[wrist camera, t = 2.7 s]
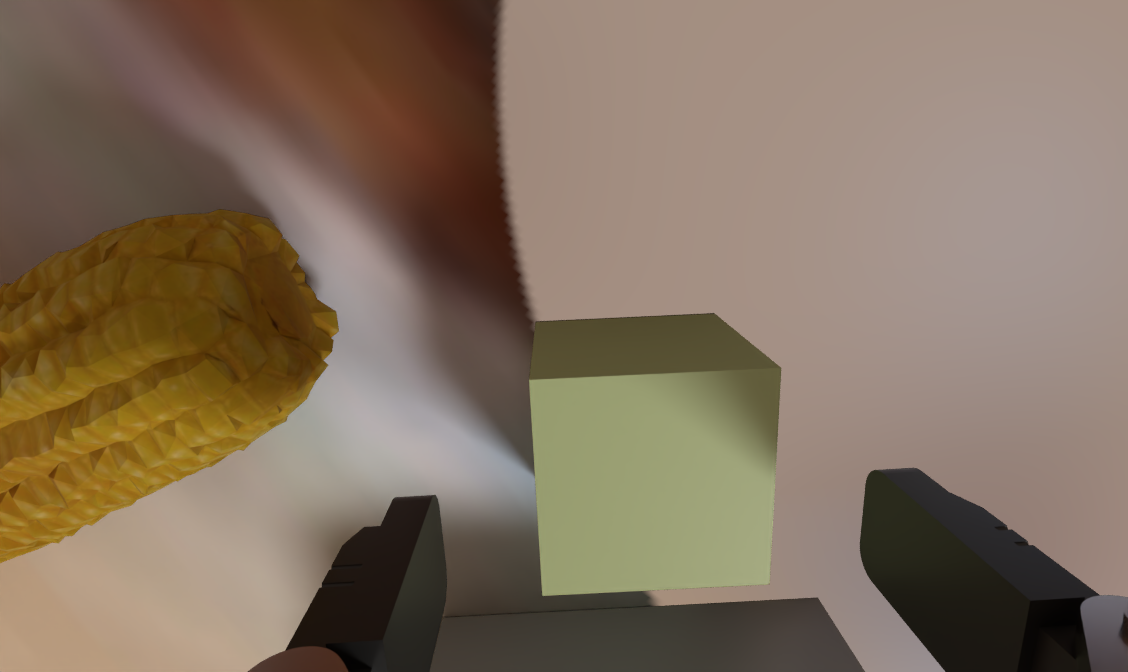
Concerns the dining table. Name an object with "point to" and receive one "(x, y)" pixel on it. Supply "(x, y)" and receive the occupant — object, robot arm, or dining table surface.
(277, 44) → the dining table surface
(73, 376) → the food
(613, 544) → the green block
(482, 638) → the bin
